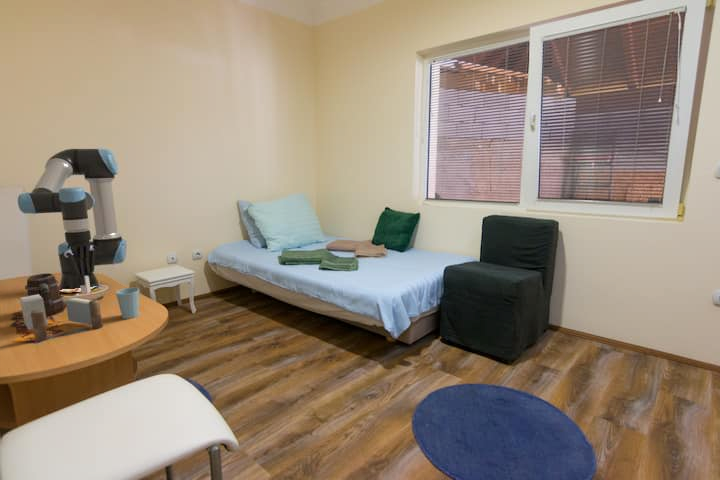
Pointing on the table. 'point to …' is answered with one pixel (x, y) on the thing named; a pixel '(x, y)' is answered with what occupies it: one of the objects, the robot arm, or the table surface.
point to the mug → (46, 292)
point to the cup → (128, 302)
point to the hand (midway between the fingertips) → (86, 292)
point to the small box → (31, 308)
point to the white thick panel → (78, 310)
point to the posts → (41, 332)
